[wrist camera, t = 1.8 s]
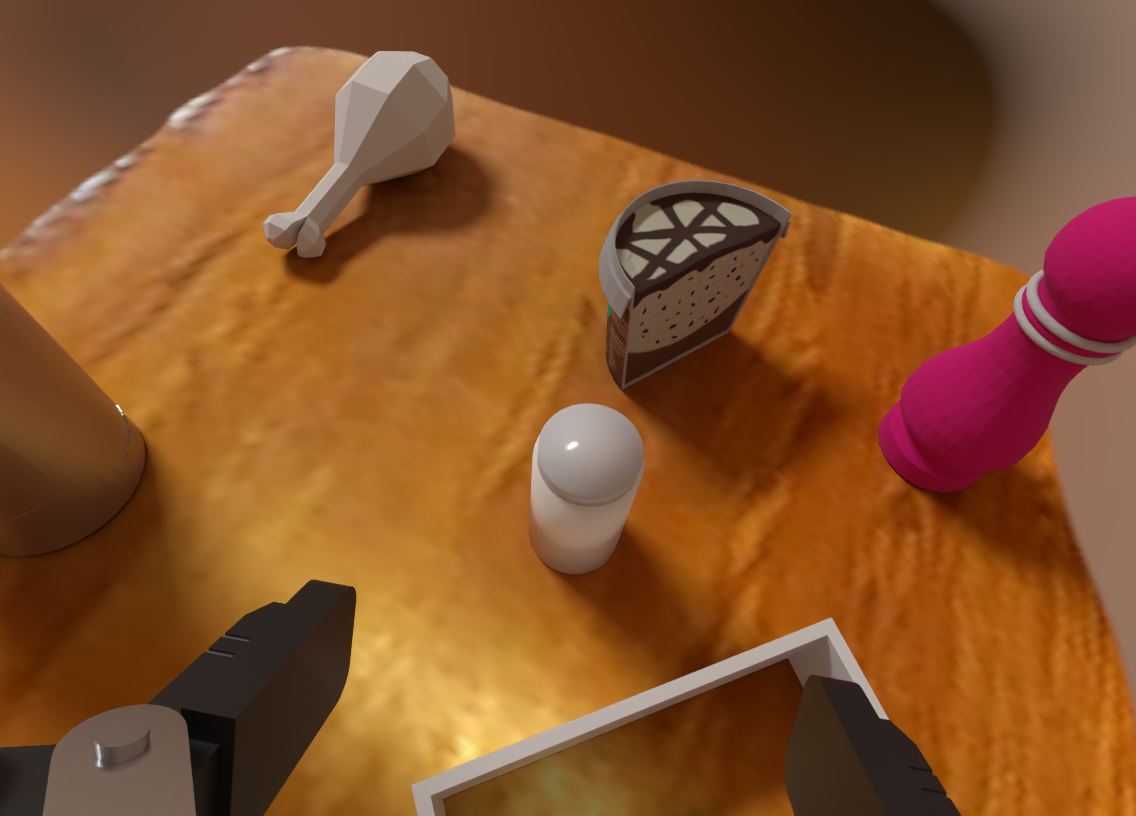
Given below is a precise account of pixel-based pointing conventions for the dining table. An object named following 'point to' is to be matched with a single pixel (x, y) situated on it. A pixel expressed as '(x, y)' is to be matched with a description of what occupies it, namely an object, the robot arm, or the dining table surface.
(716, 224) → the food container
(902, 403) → the pepper mill
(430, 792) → the grey square frame
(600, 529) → the sugar shaker
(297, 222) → the chicken leg
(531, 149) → the dining table surface
